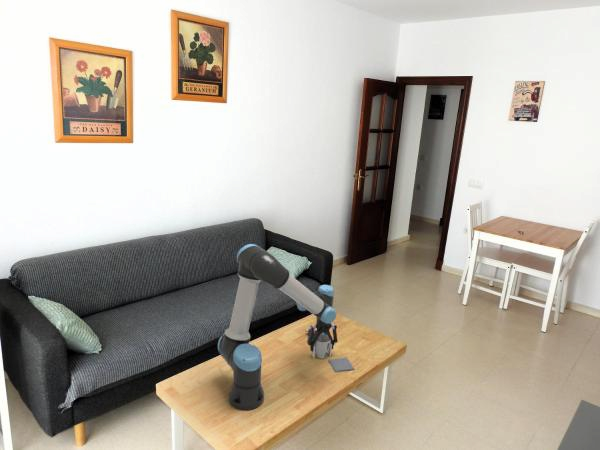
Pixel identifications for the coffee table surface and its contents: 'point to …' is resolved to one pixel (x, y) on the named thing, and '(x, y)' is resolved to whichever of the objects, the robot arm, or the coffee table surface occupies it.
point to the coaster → (341, 364)
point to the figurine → (314, 332)
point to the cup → (322, 346)
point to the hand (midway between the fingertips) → (321, 355)
